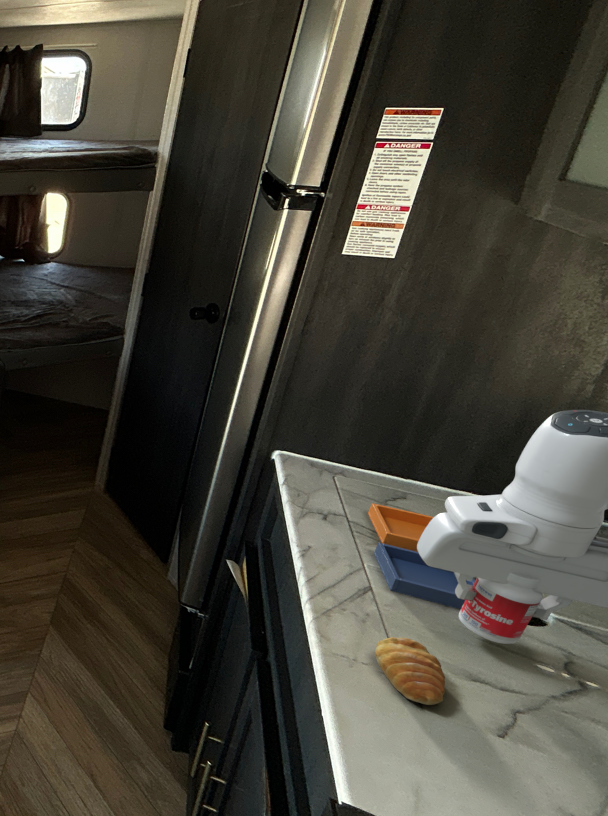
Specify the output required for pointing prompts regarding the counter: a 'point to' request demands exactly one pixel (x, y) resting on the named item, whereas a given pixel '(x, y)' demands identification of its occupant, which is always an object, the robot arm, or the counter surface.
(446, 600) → the blue tray
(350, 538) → the counter surface
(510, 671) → the counter surface
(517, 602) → the pill bottle
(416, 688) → the pastry
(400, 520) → the amber tray
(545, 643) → the counter surface
